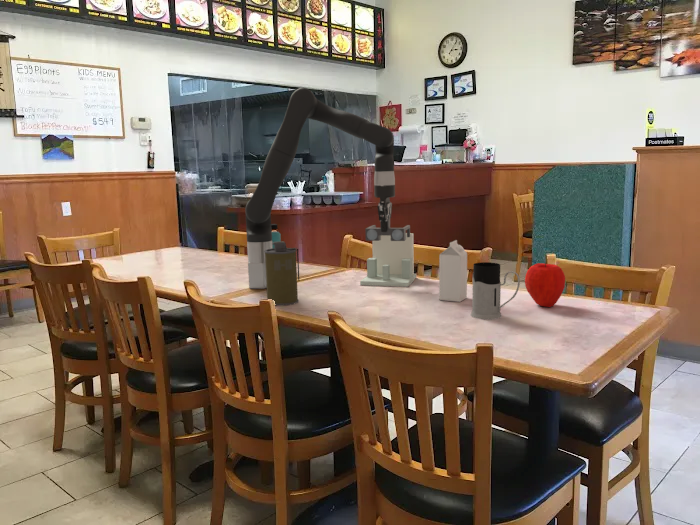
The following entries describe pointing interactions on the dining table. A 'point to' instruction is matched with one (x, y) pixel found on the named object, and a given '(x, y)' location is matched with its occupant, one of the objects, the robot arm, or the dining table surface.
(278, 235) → the beverage bottle
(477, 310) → the glass holder
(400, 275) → the display stand
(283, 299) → the canister
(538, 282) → the apple
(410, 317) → the dining table surface
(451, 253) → the milk carton
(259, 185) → the robot arm
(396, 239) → the spectacles
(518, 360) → the dining table surface
